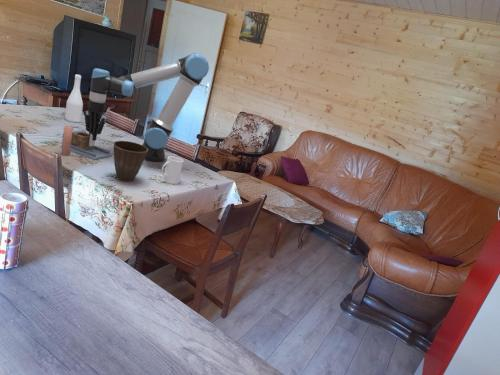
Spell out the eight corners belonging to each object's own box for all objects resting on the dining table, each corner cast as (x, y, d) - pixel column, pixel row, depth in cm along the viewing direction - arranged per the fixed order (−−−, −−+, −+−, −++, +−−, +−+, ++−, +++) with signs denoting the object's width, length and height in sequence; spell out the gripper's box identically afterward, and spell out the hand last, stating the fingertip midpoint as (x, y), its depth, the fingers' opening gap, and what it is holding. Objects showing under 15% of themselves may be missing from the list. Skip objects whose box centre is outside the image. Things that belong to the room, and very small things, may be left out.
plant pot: (147, 183, 165) (154, 152, 160) (118, 185, 154) (124, 151, 149) (131, 171, 174) (137, 141, 169) (102, 172, 162) (107, 140, 157)
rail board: (112, 156, 187) (114, 141, 185) (94, 160, 174) (96, 145, 172) (81, 144, 191) (83, 130, 189) (61, 147, 178) (63, 132, 175)
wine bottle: (66, 117, 233) (71, 72, 224) (81, 120, 236) (87, 76, 227) (63, 120, 225) (68, 73, 215) (79, 123, 228) (85, 77, 219)
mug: (163, 185, 169) (168, 162, 165) (153, 178, 174) (158, 155, 170) (182, 183, 178) (187, 161, 175) (172, 177, 183) (177, 155, 179)
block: (93, 148, 186) (95, 136, 184) (82, 150, 179) (84, 137, 176) (80, 143, 187) (82, 131, 185) (69, 145, 180) (71, 132, 178)
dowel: (71, 154, 172) (74, 127, 168) (65, 156, 169) (69, 128, 165) (65, 152, 173) (68, 125, 169) (59, 153, 170) (62, 125, 165)
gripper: (112, 104, 176) (106, 148, 183) (91, 97, 179) (86, 141, 186) (103, 104, 169) (96, 150, 176) (81, 97, 172) (76, 143, 179)
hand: (91, 145), depth 181 cm, fingers closed
